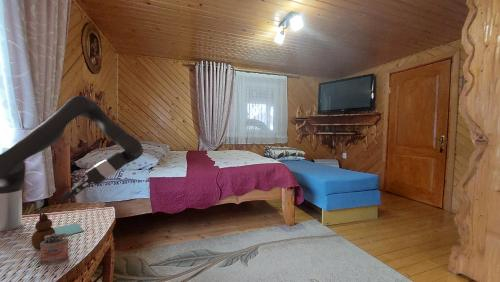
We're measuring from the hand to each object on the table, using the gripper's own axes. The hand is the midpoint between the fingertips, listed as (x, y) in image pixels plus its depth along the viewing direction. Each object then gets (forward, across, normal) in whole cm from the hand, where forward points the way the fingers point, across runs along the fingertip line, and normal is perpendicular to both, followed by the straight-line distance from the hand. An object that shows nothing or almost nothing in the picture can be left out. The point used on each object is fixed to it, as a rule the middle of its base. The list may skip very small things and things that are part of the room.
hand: (63, 198), depth 91 cm
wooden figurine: (+16, -2, +12) cm, 20 cm away
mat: (+11, -15, +14) cm, 23 cm away
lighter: (+14, +11, +16) cm, 23 cm away
